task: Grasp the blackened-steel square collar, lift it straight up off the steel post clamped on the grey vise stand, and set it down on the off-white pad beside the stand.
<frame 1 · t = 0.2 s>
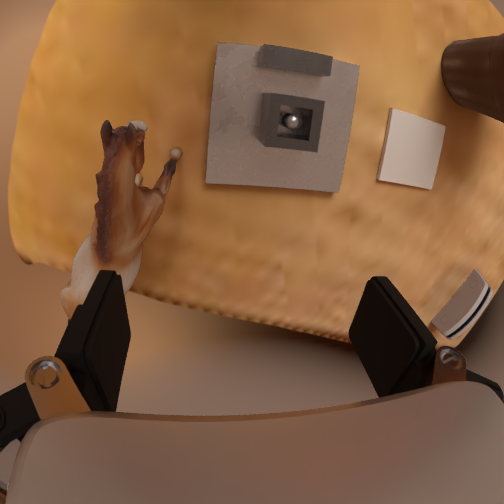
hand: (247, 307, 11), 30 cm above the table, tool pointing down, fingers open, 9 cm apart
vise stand: (281, 118, 36), on the table
horse figurine: (113, 206, 39), on the table
plant pot: (463, 74, 34), on the table
pad: (412, 150, 40), on the table
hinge: (454, 296, 58), on the table
collar: (284, 119, 34), point 1 cm above the table, touching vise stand
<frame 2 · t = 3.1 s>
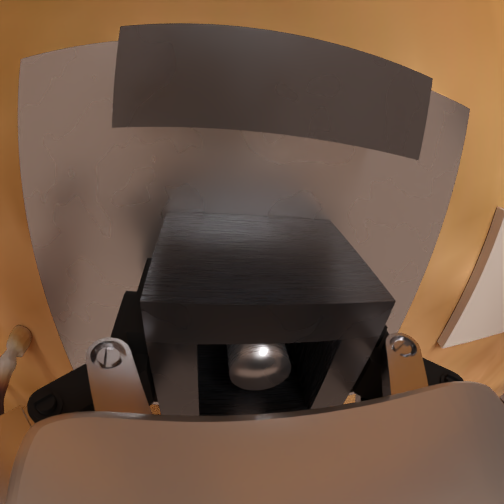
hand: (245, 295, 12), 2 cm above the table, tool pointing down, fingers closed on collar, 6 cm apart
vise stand: (240, 265, 13), on the table
collar: (243, 284, 12), point 2 cm above the table, touching gripper, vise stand
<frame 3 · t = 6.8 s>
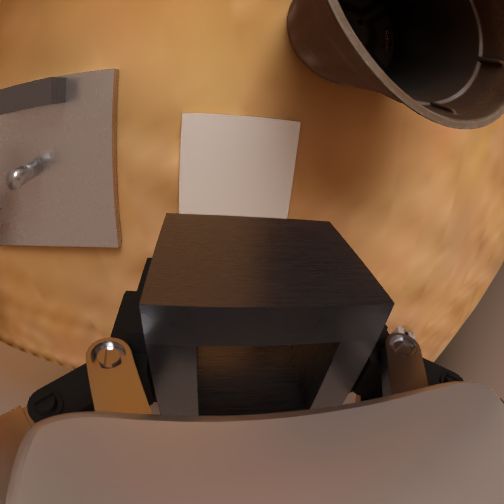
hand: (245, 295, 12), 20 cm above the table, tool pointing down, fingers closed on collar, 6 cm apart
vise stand: (42, 164, 25), on the table
plant pot: (342, 32, 23), on the table
pad: (236, 170, 29), on the table
collar: (243, 286, 12), point 19 cm above the table, touching gripper
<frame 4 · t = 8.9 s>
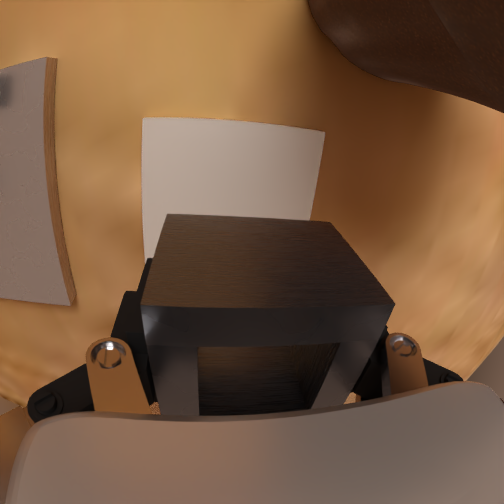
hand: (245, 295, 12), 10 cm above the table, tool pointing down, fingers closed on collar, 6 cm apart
plant pot: (382, 5, 14), on the table
pad: (227, 203, 20), on the table
collar: (243, 286, 12), point 9 cm above the table, touching gripper
when the fingers open (3 cm above the table, at t = 10.7 s): collar drops 1 cm, resting on pad.
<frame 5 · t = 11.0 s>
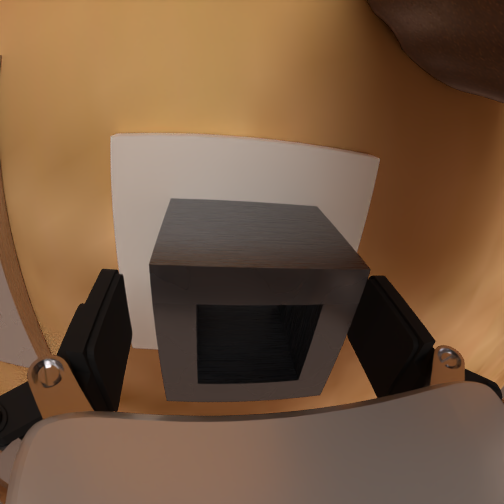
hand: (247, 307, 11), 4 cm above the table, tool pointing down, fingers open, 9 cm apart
pad: (238, 257, 14), on the table
collar: (239, 266, 13), point 1 cm above the table, touching pad
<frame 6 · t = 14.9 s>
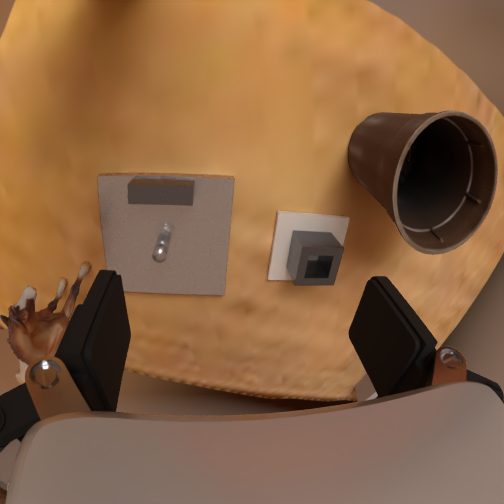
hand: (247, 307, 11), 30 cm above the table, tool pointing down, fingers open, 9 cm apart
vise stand: (165, 235, 42), on the table
horse figurine: (51, 298, 44), on the table
plant pot: (381, 152, 40), on the table
pad: (307, 247, 46), on the table
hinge: (376, 365, 65), on the table
collar: (308, 249, 45), point 1 cm above the table, touching pad
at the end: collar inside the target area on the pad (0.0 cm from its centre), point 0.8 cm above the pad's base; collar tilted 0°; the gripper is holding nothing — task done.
